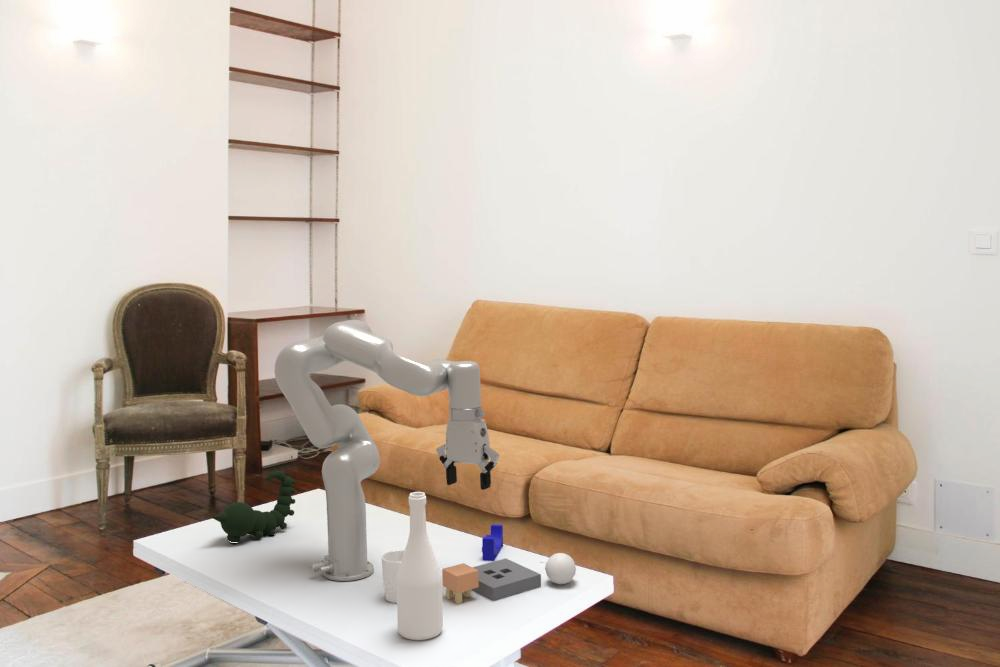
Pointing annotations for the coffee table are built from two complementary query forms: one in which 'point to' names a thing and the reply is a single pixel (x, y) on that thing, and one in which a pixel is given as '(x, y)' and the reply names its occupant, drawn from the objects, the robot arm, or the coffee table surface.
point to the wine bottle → (419, 580)
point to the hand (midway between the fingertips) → (468, 486)
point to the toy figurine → (258, 513)
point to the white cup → (391, 573)
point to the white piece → (560, 568)
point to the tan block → (459, 581)
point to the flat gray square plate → (505, 579)
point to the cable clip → (492, 543)
